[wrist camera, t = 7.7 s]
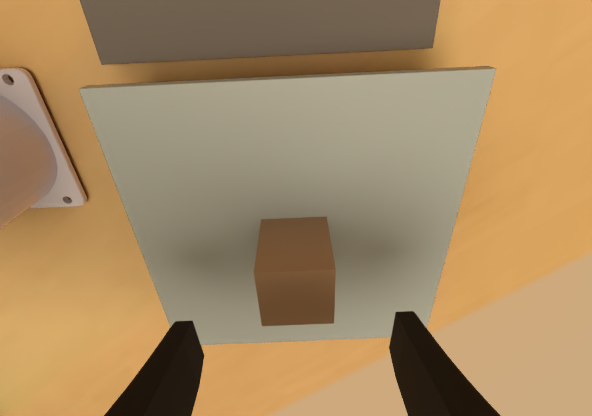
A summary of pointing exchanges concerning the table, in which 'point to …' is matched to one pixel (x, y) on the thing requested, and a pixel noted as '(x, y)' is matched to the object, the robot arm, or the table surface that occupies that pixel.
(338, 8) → the mat
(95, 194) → the table surface
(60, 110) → the table surface
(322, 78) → the lid
